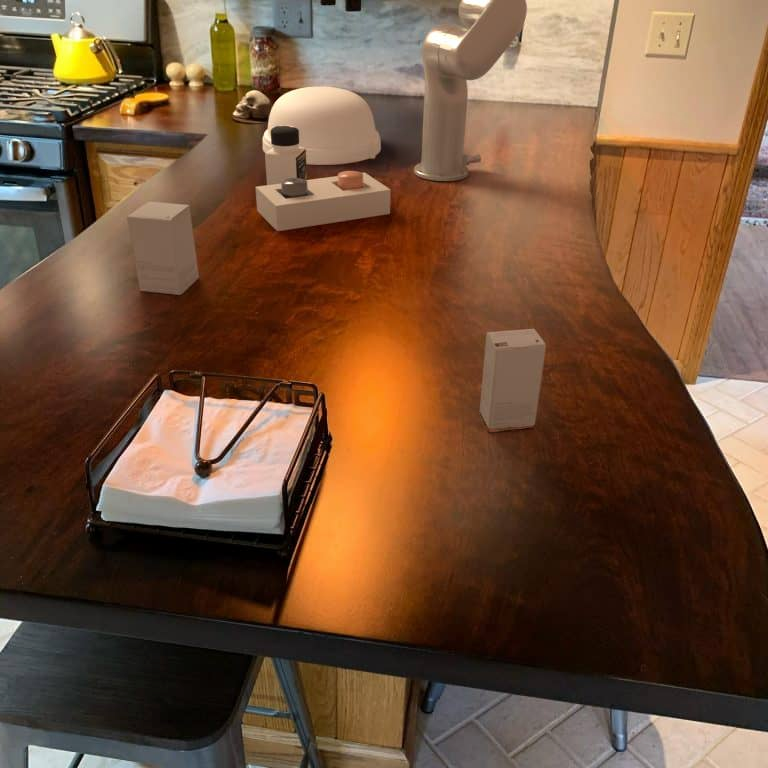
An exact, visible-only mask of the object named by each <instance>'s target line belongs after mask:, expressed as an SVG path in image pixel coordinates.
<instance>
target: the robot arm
mask: <svg viewBox="0 0 768 768" xmlns="http://www.w3.org/2000/svg"><path fill="white" fill-rule="evenodd" d="M344 3H345V4H344V5H345V6H344V9H345V12H348V13H349V12H351V13H352V12H353V13H354V12H361V11H362V0H345V2H344ZM336 4H337V0H320V6H324V7H325V6H327V7H329V6H336ZM458 6H459V7H458V17H459V18H458V19H459V20H460V22H461V24H463V25H464V26H460V25H457V24H453V23H452V24H451V23H442V24H438V25H436V26H434V27H432V28H431V29H430V30H428V33H427V34H426V35H425V38H424V39H423V43H422V51H421V55H422V64H423V65H422V66H423V72H424V74H423V76H424V101H423V118H422V119H423V123H422V139H421V140H422V142H421V143H422V144H421V161H420V162H419V163H417V164H416V165H415V166H414V170H413V171H414V174H415V176H417V177H420V178H422V179H424V180H428V181H434V182H436V181H437V182H455V181H460V180H463V179H465V178H467V177H468V176H469V171H470V170H469V168H468V167H467V166H470V164H478V163H480V162H481V160H482V156H481V154H479V153H478V154H471V153H469V152H464V148H465V134H466V120H467V109H468V106H467V105H468V101H469V99H468V97H469V96H468V95H469V93H468V82H467V81H476V80H478V79H480V78H482V77H484V76H485V75H486V74H488V73H489V71H490V70H491V69H492V68H493V67H494V65H495V64H496V62H498V61H499V59H500V58H501V56H503V54H504V53H505V52H506V50H507V49H508V48H509V47H510V46H511V44H513V42H514V40H515V39H516V38H517V37H518V35H519V33H520V32H521V30H522V29H523V27H524V24H525V23H526V22H525V21H526V19H527V13H528V5H527V0H460V2H459V5H458Z"/></svg>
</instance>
